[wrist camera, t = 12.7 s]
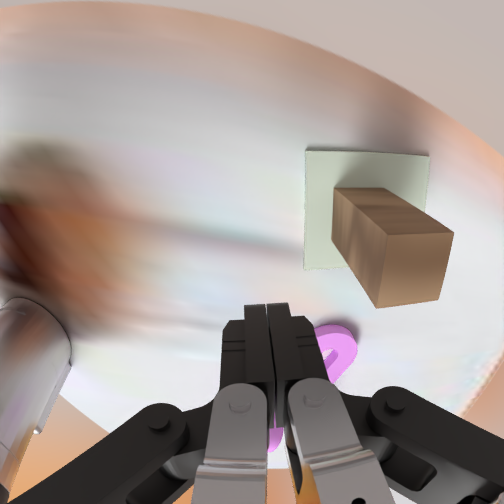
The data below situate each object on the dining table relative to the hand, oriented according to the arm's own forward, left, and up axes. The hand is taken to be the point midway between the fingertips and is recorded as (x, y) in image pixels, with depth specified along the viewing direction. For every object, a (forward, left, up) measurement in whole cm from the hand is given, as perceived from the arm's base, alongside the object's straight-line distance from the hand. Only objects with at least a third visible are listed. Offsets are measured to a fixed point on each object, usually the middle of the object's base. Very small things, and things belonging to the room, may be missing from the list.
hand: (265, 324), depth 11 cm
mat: (0, -9, -13) cm, 16 cm away
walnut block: (0, -8, -12) cm, 15 cm away
